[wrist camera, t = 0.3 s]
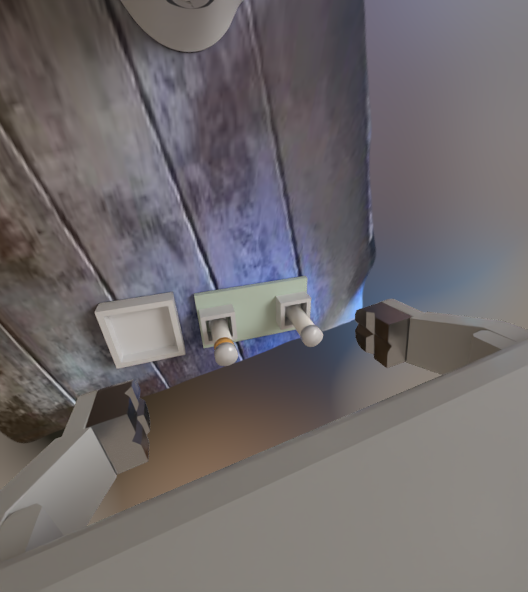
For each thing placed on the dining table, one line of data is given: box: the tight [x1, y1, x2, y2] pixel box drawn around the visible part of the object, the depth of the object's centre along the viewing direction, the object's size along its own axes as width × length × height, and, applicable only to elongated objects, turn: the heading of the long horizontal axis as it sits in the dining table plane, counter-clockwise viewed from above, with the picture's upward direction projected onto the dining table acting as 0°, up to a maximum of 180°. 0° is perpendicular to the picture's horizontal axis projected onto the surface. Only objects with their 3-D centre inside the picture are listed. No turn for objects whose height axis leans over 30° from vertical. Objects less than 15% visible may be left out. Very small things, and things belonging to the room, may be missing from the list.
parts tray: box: [94, 292, 185, 369], centre depth 49 cm, size 12×12×3 cm
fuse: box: [285, 304, 323, 347], centre depth 51 cm, size 4×4×11 cm
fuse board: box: [194, 276, 311, 348], centre depth 53 cm, size 12×22×4 cm, turn 92°
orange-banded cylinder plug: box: [208, 317, 238, 366], centre depth 48 cm, size 4×4×11 cm
